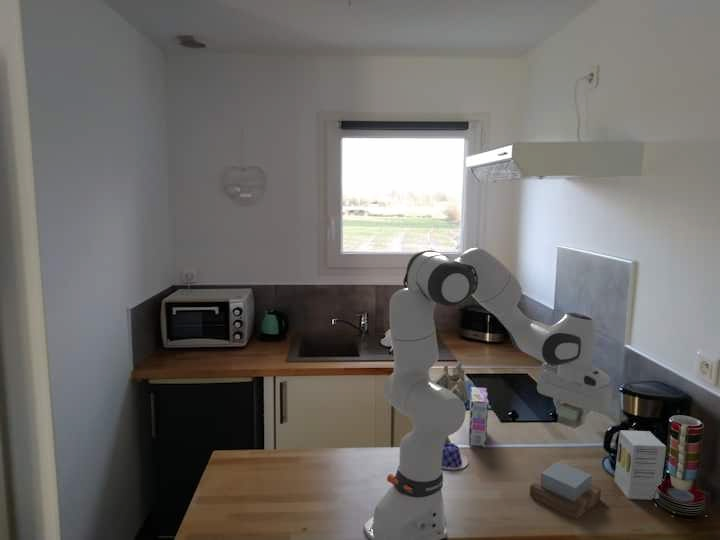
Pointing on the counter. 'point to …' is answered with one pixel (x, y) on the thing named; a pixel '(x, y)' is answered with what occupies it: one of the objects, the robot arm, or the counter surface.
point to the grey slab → (565, 481)
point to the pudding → (453, 457)
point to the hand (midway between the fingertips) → (570, 417)
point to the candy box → (478, 417)
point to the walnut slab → (564, 504)
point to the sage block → (569, 415)
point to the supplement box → (639, 464)
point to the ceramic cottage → (454, 382)
